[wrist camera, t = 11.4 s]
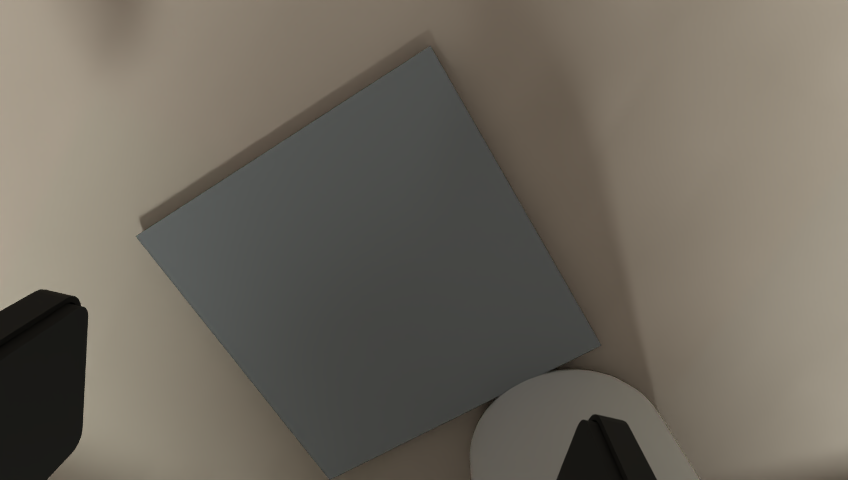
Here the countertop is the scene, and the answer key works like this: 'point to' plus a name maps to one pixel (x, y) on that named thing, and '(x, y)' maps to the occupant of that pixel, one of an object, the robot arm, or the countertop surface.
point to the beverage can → (566, 427)
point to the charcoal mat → (374, 271)
